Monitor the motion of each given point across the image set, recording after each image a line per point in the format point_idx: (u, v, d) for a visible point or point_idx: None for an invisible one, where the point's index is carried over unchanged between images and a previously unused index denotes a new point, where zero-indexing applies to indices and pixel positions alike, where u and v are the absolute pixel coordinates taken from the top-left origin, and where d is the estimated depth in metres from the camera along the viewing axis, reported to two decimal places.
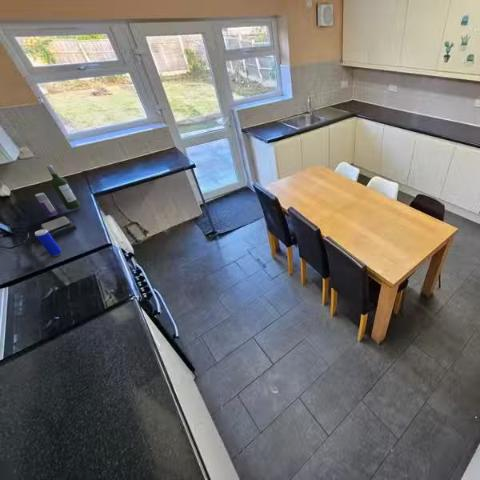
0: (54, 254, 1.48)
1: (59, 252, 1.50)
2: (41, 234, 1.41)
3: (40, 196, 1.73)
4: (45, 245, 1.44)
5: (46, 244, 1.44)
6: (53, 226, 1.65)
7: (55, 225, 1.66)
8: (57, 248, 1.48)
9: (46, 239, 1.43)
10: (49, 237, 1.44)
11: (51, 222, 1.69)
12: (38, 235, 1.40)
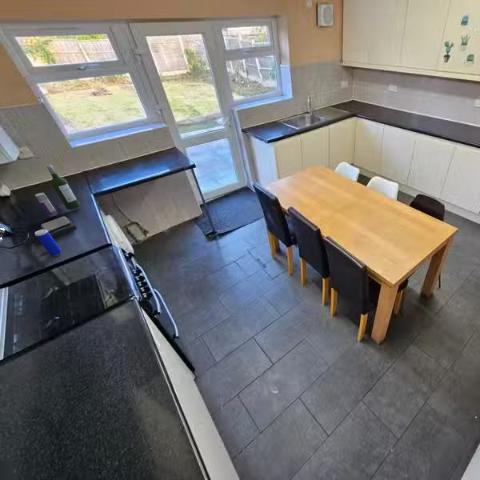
0: (54, 254, 1.48)
1: (59, 252, 1.50)
2: (41, 234, 1.41)
3: (40, 196, 1.73)
4: (45, 245, 1.44)
5: (46, 244, 1.44)
6: (53, 226, 1.65)
7: (55, 225, 1.66)
8: (57, 248, 1.48)
9: (46, 239, 1.43)
10: (49, 237, 1.44)
11: (51, 222, 1.69)
12: (38, 235, 1.40)
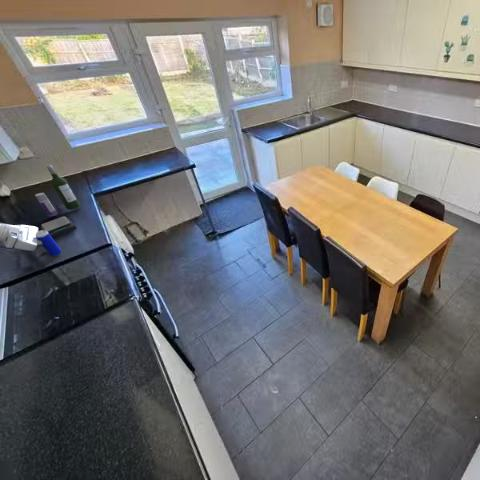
0: (54, 254, 1.48)
1: (59, 252, 1.49)
2: (42, 236, 1.40)
3: (40, 196, 1.73)
4: (45, 246, 1.43)
5: (47, 245, 1.43)
6: (53, 226, 1.65)
7: (55, 225, 1.66)
8: (57, 248, 1.48)
9: (47, 240, 1.42)
10: (49, 238, 1.43)
11: (51, 222, 1.69)
12: (39, 237, 1.39)
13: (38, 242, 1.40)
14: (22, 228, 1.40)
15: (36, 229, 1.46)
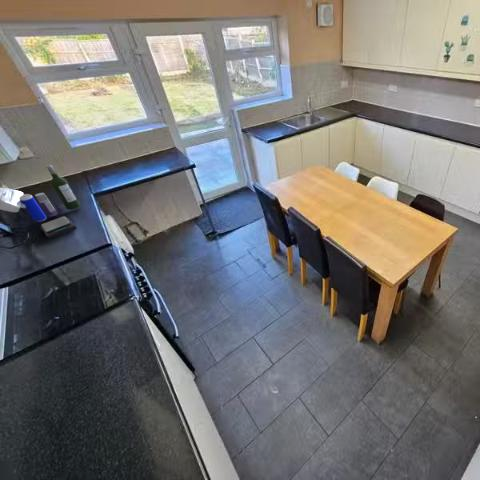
0: (39, 219, 1.49)
1: (44, 218, 1.50)
2: (26, 199, 1.41)
3: (40, 196, 1.73)
4: (29, 210, 1.44)
5: (31, 209, 1.44)
6: (53, 226, 1.65)
7: (55, 225, 1.66)
8: (42, 214, 1.49)
9: (31, 204, 1.43)
10: (34, 202, 1.44)
11: (51, 222, 1.69)
12: (22, 200, 1.40)
13: (22, 205, 1.41)
14: (6, 191, 1.41)
15: (21, 193, 1.46)
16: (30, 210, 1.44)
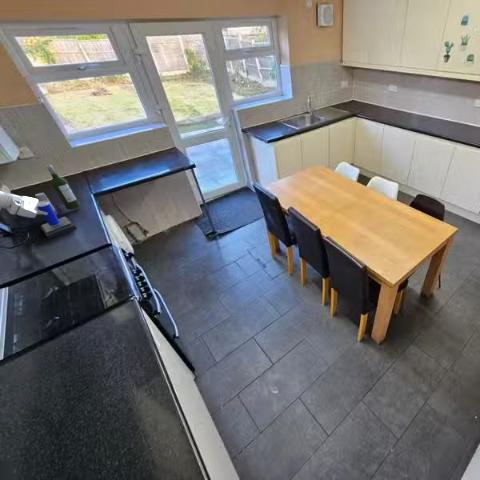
0: (53, 224, 1.65)
1: (57, 223, 1.66)
2: (43, 205, 1.57)
3: (40, 196, 1.73)
4: (45, 215, 1.61)
5: (47, 214, 1.60)
6: (53, 227, 1.65)
7: (55, 226, 1.66)
8: (56, 219, 1.65)
9: (47, 210, 1.59)
10: (50, 208, 1.61)
11: None
12: (40, 206, 1.57)
13: (38, 212, 1.57)
14: (24, 199, 1.57)
15: (37, 201, 1.62)
16: (46, 215, 1.61)
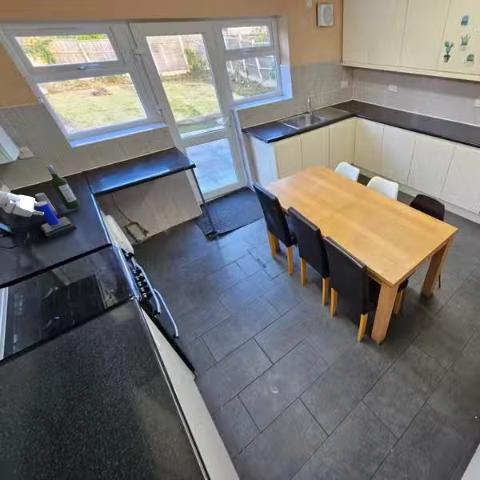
0: (52, 224, 1.65)
1: (57, 223, 1.66)
2: (41, 205, 1.58)
3: (40, 196, 1.73)
4: (44, 215, 1.61)
5: (46, 214, 1.61)
6: (53, 227, 1.65)
7: (55, 226, 1.66)
8: (55, 219, 1.65)
9: (45, 209, 1.60)
10: (48, 208, 1.61)
11: None
12: (38, 206, 1.57)
13: (34, 212, 1.54)
14: (20, 197, 1.56)
15: (33, 199, 1.61)
16: (45, 215, 1.61)
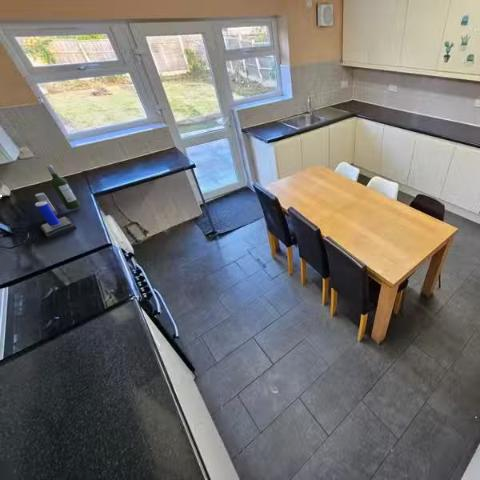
0: (52, 224, 1.65)
1: (57, 223, 1.66)
2: (41, 205, 1.58)
3: (40, 196, 1.73)
4: (44, 215, 1.61)
5: (46, 214, 1.61)
6: (53, 227, 1.65)
7: (55, 226, 1.66)
8: (55, 219, 1.65)
9: (45, 209, 1.60)
10: (48, 208, 1.61)
11: None
12: (38, 206, 1.57)
13: None
14: None
15: None
16: (45, 215, 1.61)
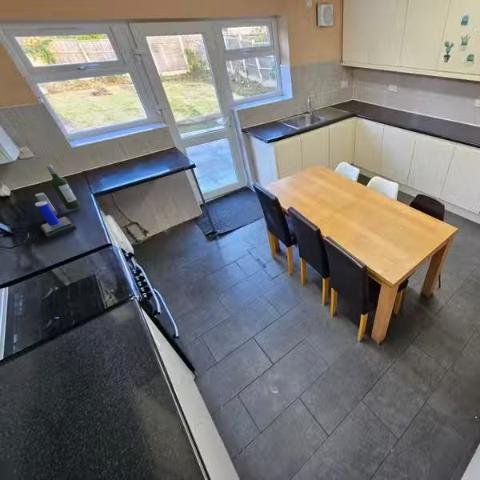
0: (52, 224, 1.65)
1: (57, 223, 1.66)
2: (41, 205, 1.58)
3: (40, 196, 1.73)
4: (44, 215, 1.61)
5: (46, 214, 1.61)
6: (53, 227, 1.65)
7: (55, 226, 1.66)
8: (55, 219, 1.65)
9: (45, 209, 1.60)
10: (48, 208, 1.61)
11: None
12: (38, 206, 1.57)
13: None
14: None
15: None
16: (45, 215, 1.61)
